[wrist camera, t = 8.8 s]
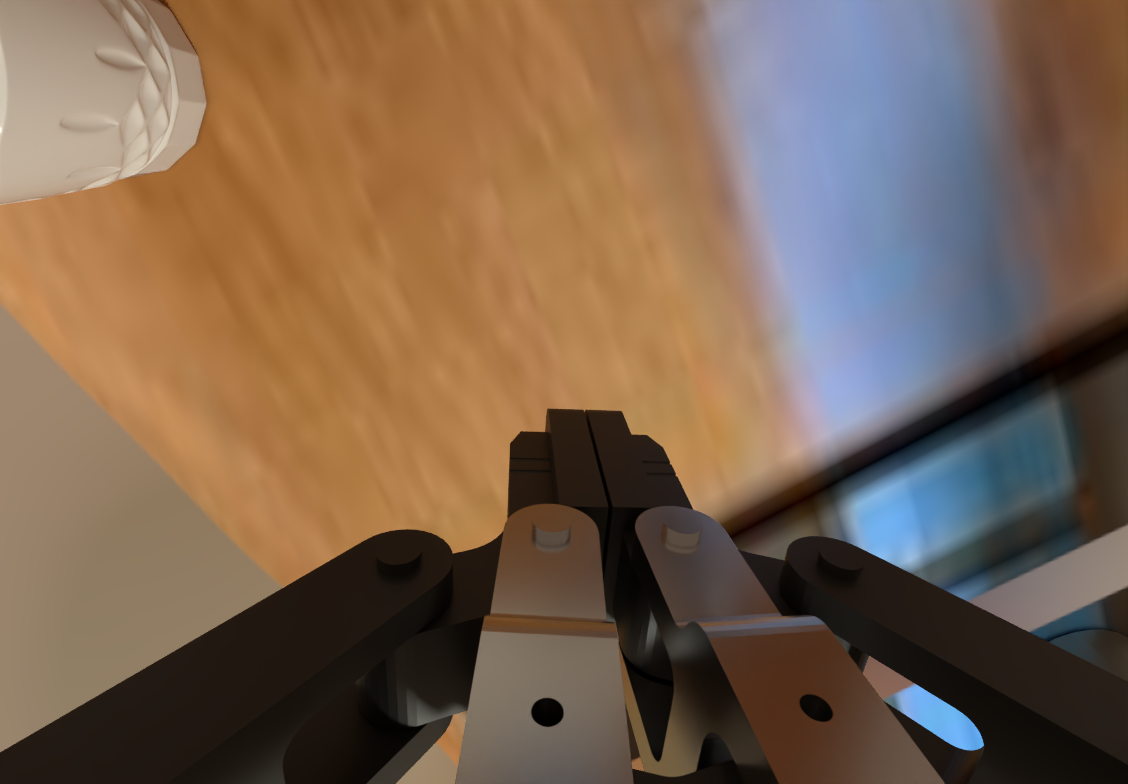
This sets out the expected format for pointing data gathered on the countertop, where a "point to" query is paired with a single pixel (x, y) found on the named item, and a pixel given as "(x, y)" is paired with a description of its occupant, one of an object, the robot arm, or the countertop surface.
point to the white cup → (92, 94)
